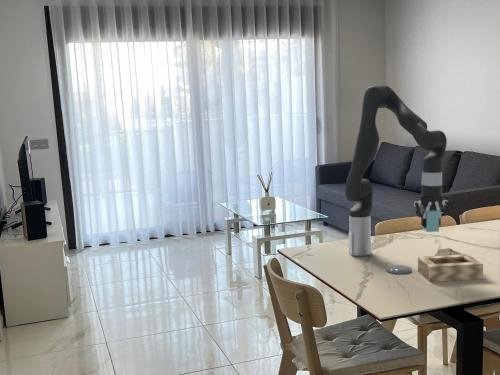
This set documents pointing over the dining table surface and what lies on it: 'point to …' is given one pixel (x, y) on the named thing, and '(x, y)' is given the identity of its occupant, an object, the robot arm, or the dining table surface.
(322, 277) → the dining table surface
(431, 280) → the box
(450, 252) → the rock
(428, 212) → the block
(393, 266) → the coaster
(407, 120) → the robot arm
